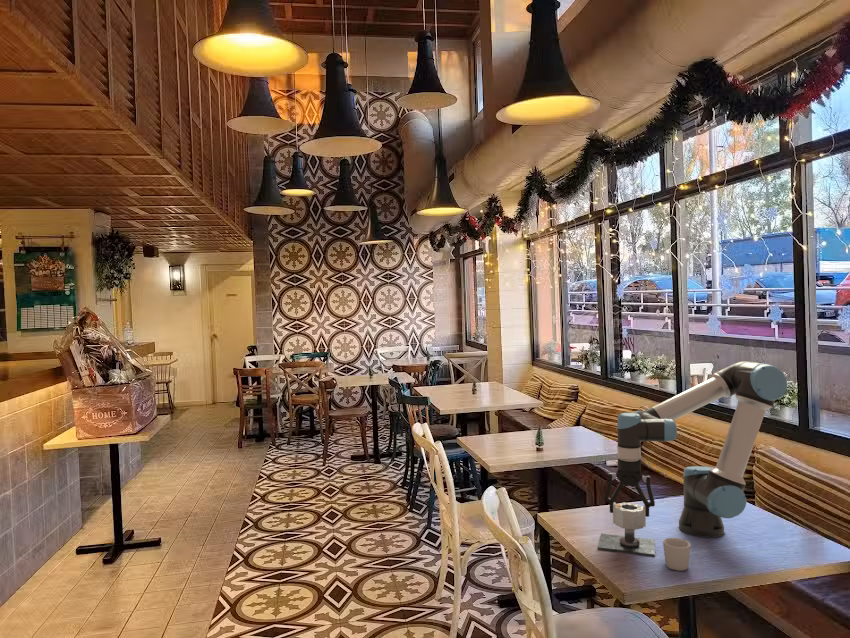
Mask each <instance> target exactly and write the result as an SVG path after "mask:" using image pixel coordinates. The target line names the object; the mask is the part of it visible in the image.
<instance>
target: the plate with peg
mask: <svg viewBox="0 0 850 638" xmlns="http://www.w3.org/2000/svg"><path fill="white" fill-rule="evenodd" d="M635 536H636V533H635V530H632V529H624V535H616V534H609V533H600V537H599V541H598V546H597V550H598V551H607V552H616V553H622V554H629V555H639V556H646V557H652V558H653V557H654V558H655V555H656V554H655V551H656V550H655V549H656V547H655V545H656V544H655V540H656V539H651V538H643V537H635Z"/></svg>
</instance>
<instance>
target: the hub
mask: <svg viewBox="0 0 850 638" xmlns="http://www.w3.org/2000/svg"><path fill="white" fill-rule="evenodd" d="M614 526H617V527H620V528H621V529H624V530H625V529H632V530H641V529H644V527H643V505H640V504H638V503H637V504H636V503H632V502H620V503H616V506H615V524H614Z"/></svg>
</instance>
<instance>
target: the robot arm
mask: <svg viewBox="0 0 850 638" xmlns="http://www.w3.org/2000/svg"><path fill="white" fill-rule="evenodd" d="M787 388H788V380H787V377H786V376H785V374H784V372H783V371H782V370H781V369H780V368H779V367H777V366H775V365H771V364H769V363H763V362H754V361H749V360H744V361H738V362H737V363H733V364H731V365H729V366H726V367H724V368H723V369H720V370H719V371H717V372H715V373H713V374H712V375H711V378H708V379H706V380H705V381H702V382H701V383H699V384H697V385H695V386H693V387H690V388H689V389H687V390H684V391H682V392H680V393H678V394H676V395H674V396H673V397H670V398H668V399H666V400H664V401H662V402H660V403H658V404H656V405H654V406H652V407H650V408H647V409H645V410H635V411H634V412H621V413H619V414H618V416H617V420H616V421H617V423H616V430H617V432H616V433H617V435H616V436H617V457H618V458H617V471H616V472H612V471H609V472H608V474H607V479H608V483H607V486H606V491H605V495H604V500H603V501H604V503H605V502H606V503H608V504H609V513H610V514H612V524H614V525H615V506H616V504H617V503H616V502H615V501H616V499H617V497H618V495H619V494H620V491H621V489H622V488H623V487H631V488H632V487H634V488H635V489H636V491H637V494H638V495H639V497H640V499H641V501H642V502H643V504H644V505H642V507H643V528H646V524H647V523H646V521H647V520H646V519H647V518H649V517H650V508H651V507H655V505H656V501H655V498H654V495H653V490H652V485H651V475H644V474H642V471H641V470H642V469H641V467H642V465H641V464H642V463H641V457H642V455H641V451H642V450H641V446H642V444H641V443H642V442H663V443H666V442H671V441H675V440H676V439H677V436H678V427H677V423H676V422H675V420H678V419H679V418H681V417H684V416H686V415H687V414H690V413H692V412H694V411H696V410H698V409H701V408H702V407H704V406H706V405H708V404H711V403H712V402H714V401H717V400H719V399H721V398H723V397H724V398H730V397H732V396H734V395H735V398H736V399H737V405H736V408H735V409H734V410H735V411H734V413H733V417H732V419H731V423H730V425H729V428H728V432H727V434H726V437H725V439H724V443H723V445H722V448H721V451H720V453H719V457H718V459H717V462H716V465H715V467H712V466H702V465H701V466H699V465H698V466H695V465H693V466H687V467H685V468H684V469H683V476H682V478H683V508H682V510H681V514H680V516H679V520H678V528H679V530H680V531H682V532H684V533H686V534H688V535H690V536H695V537H701V538H717V537H723V536H724V535H725V525H724V523H723V519H732V518H735V517H737V516H740V515H741V514H742V513H743V512H744V510H745V509H746V506H747V497H746V495H745V492H744V490H745V488H746V480H744V474H745V471H746V469H747V465H748V463H749V460H750V457H751V455H752V451H753V449H754V445H755V442H756V440H757V436H758V434H759V430H760V428H761V425H762V423H763V419H764V417H765V414H766V411H768V410H770V409H773V407H774V404H775V401H776V400H779V399H780V398H782V397H783V396H784V395H785V393H786V392H787ZM616 478H617V479H618V480H619V483H618V484H617V487H616V488H615V490H614V491H613V493H612V496H611V498H610V493H611V490H612V489H611V488H612V484H613V481H614V480H615V479H616ZM641 480H643V482H644V483H645V487H646V490H647V494H648V498H649V501H648V499H647V497H646V494H645V493H644V491H643V490H642V487H641V486H640V482H641ZM646 517H647V518H646Z"/></svg>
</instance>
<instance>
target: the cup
mask: <svg viewBox="0 0 850 638" xmlns="http://www.w3.org/2000/svg"><path fill="white" fill-rule="evenodd" d="M662 544H663V545H662V546H663V552H664V563H665V566H666V567H668V568H669V569H670V570H673V571H677V572H678V571H679V572H682V571H683V572H684V571H686V570H688V568H689V565H690V556H691V555H690V553H691V546H692V545H691V543H690V542H689V541H688V540H686V539H683V538H682V539H681V538H677V537H668V538H664V539H663V541H662Z"/></svg>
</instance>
